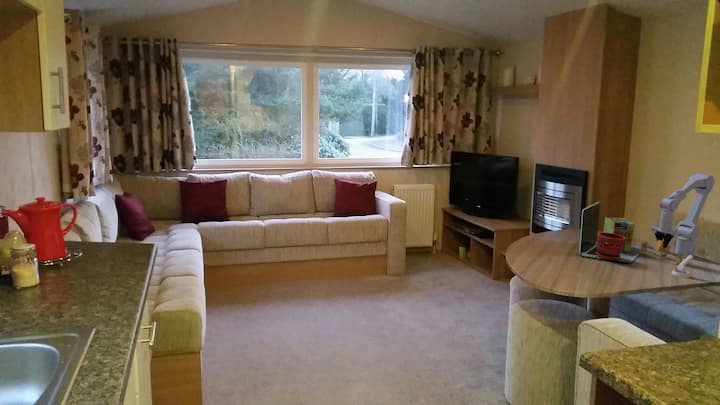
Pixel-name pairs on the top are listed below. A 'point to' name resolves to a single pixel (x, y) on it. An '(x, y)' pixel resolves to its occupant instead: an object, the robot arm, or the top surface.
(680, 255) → the stand
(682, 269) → the hook
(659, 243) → the block
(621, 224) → the protein box
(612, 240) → the plant pot
